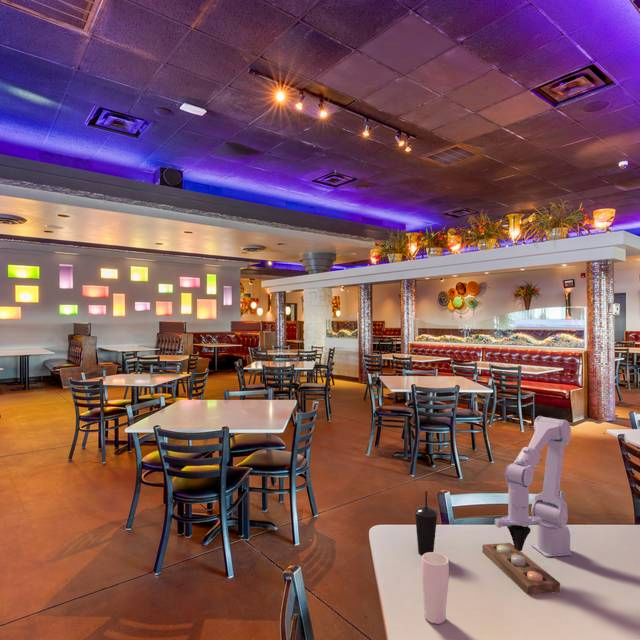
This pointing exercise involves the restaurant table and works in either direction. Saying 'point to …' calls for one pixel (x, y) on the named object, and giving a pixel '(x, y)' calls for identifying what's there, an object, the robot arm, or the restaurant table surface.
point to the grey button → (518, 560)
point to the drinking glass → (435, 586)
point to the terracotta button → (534, 576)
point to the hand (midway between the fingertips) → (518, 549)
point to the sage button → (503, 549)
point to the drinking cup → (425, 527)
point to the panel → (521, 570)
